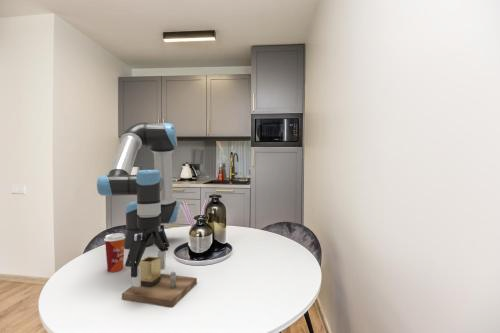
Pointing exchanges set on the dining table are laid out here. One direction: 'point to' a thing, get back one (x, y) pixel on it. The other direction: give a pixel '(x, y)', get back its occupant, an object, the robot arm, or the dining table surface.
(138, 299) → the pin board
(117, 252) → the paper cup
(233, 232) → the dining table surface
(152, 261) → the sleeve
